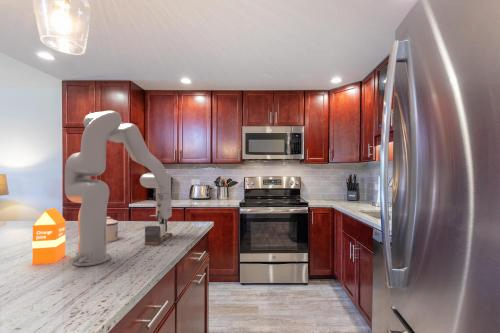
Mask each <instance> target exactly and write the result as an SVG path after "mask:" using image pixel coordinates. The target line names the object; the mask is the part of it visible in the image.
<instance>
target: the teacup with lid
mask: <svg viewBox="0 0 500 333" xmlns="http://www.w3.org/2000/svg"><path fill="white" fill-rule="evenodd" d="M118 225H119V221H118V220H115V219H113V218H111V216H107V240H106V243H109V242H110V243H111V242H115V241H117V240H118V238H119V226H118Z"/></svg>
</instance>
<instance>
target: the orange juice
mask: <svg viewBox="0 0 500 333" xmlns="http://www.w3.org/2000/svg"><path fill="white" fill-rule="evenodd" d="M66 221H67V220H66V219H65V218H64V217H63V216H62V214H61V213H60V212H59V211H58V210H57V209H56V207H52V208H49V209H46V210H44V211H43V212H42V214H41V215H40V216H39V218H38V219H37V220H36V222H35V223H34V224H33V225H32V245H31V246H32V265H39V264H41V263H43V264H51V263H57V262H58V261H59V260H62V258H63V257H65V256H66Z"/></svg>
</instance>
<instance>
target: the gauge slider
mask: <svg viewBox="0 0 500 333" xmlns="http://www.w3.org/2000/svg"><path fill="white" fill-rule="evenodd" d="M155 226H160V238H161V237H163V236H165V233H166V232H165V224H159V223H155Z"/></svg>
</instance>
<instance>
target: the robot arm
mask: <svg viewBox="0 0 500 333" xmlns="http://www.w3.org/2000/svg"><path fill="white" fill-rule="evenodd" d="M122 120H123V119H122V116H121V114H120V113H119V112H117V111H115V110H104V111H97V112H91V113H89V114H87V115H85V117H84V118H83V121H82V122H83V126H84V131H83V132H82V135H81V141H80V143H81V144H80V151H79V152H75V153H72V154H71V155H70V156H68V158H67V159H66V161H65V167H64V192H65V196H66V198H67V199H68V200H69V201H70V202H72V203H75V204H77V203H78V204H80V205H81V206H80V208H79V210H78V216H77V235H78V236H77V252H76V255H75V256H74V257H71V258H69V260H68V263H69V265H73V266H76V267H90V266H95V265H100V264H105V263H106V262H108V261H110V260H111V259H112V258H111V257H112V254H111V253H108V252H107V242H106V240H107V217H108V216H107V212H108V211H107V210H108V202H109V199H110V187H109V186H108V184H107V183H106V182H104V181H103V180H100V179H92V178H91V179H90V177H95V176H100V175H102V174H103V173H104V172H105V170H106V167H107V165H106V164H107V142H108V141H109V142H113V143H117V144H118V143H119V144H120V143H123V145H124V147H125V149H126V151H127V153H128V156H129V157H130V159H131V160H132V161H133V162H135V163H137V164H139V165H141V166H143V167H145V168H147V169H148V170H149V171H150V172H146V173H145V172H144V174H141V176H140V178H139V183H140V185H141V186H142V187H144V188H146V189H155V200H156V202H155V219H156V220H157V223H158V224H165V233H168V219H169V218H171V217H172V215H173V214H172V212H173V211H172V210H173V209H172V208H173V207H172V174H170V173H169V172H167V170H166V167H165V166H164V165H163V163H162V162H161V161H160V160H159V159H158V158H157V156H155V155H154V154H152V153H151V152H150V150H149V149H148V147H147V144H146V142H145V140H144V137H143V135H142V134H141V132H140V129H139V127H138V126H137V125H136V124H134V123H131V122H125V123H122V122H123V121H122Z"/></svg>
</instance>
